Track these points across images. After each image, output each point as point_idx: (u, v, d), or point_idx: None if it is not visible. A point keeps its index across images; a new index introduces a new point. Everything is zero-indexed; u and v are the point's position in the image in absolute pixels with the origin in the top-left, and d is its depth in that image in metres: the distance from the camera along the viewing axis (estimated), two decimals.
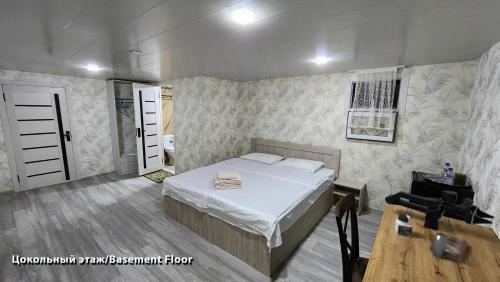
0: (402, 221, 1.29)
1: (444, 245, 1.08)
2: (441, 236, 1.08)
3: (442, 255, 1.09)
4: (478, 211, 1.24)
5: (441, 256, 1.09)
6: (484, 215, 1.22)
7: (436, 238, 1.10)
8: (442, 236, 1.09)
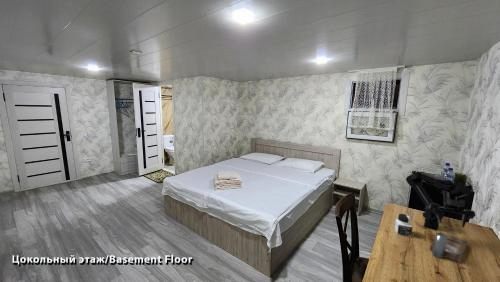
0: (402, 221, 1.29)
1: (444, 245, 1.08)
2: (441, 236, 1.08)
3: (442, 255, 1.09)
4: (463, 216, 1.16)
5: (441, 256, 1.09)
6: (463, 221, 1.16)
7: (436, 238, 1.10)
8: (442, 236, 1.09)
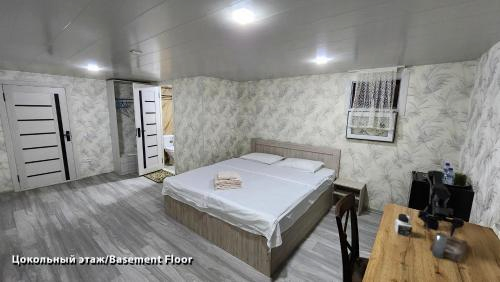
0: (402, 221, 1.29)
1: (444, 245, 1.08)
2: (441, 236, 1.08)
3: (442, 255, 1.09)
4: (452, 225, 1.13)
5: (441, 256, 1.09)
6: (451, 230, 1.12)
7: (436, 238, 1.10)
8: (442, 236, 1.09)
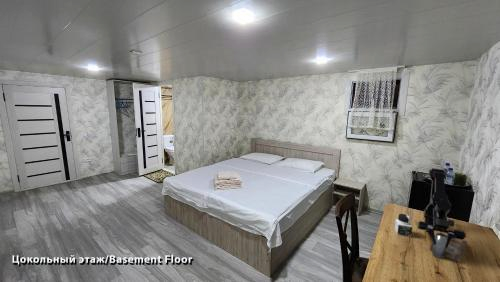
0: (402, 221, 1.29)
1: (445, 245, 1.08)
2: (441, 236, 1.08)
3: (442, 255, 1.09)
4: (447, 235, 1.10)
5: (441, 256, 1.09)
6: None
7: (436, 238, 1.10)
8: (442, 236, 1.09)
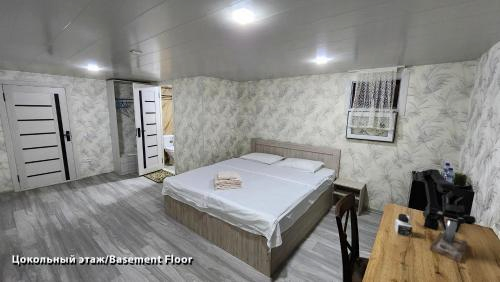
0: (402, 221, 1.29)
1: (455, 230, 1.10)
2: (452, 221, 1.10)
3: (452, 240, 1.11)
4: (457, 220, 1.12)
5: (451, 241, 1.11)
6: None
7: (446, 223, 1.12)
8: (452, 221, 1.11)
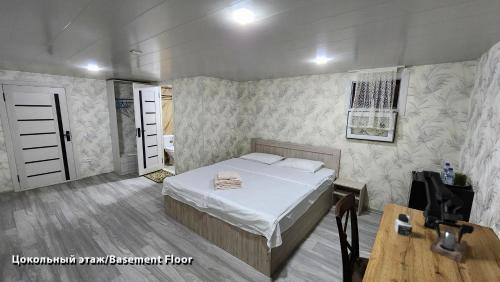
0: (402, 221, 1.29)
1: (453, 241, 1.11)
2: (450, 233, 1.11)
3: (451, 251, 1.12)
4: (460, 230, 1.12)
5: None
6: (459, 235, 1.12)
7: (445, 235, 1.13)
8: (451, 233, 1.12)
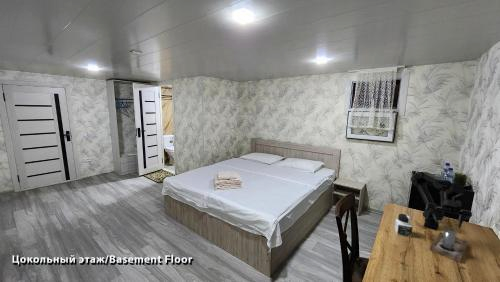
0: (402, 221, 1.29)
1: (453, 241, 1.11)
2: (450, 233, 1.11)
3: (451, 251, 1.12)
4: (460, 216, 1.16)
5: None
6: (459, 221, 1.16)
7: (445, 235, 1.13)
8: (451, 233, 1.12)
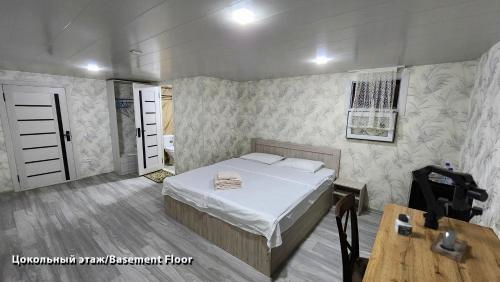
0: (402, 221, 1.29)
1: (453, 241, 1.11)
2: (450, 233, 1.11)
3: (451, 251, 1.12)
4: None
5: None
6: None
7: (445, 235, 1.13)
8: (451, 233, 1.12)
